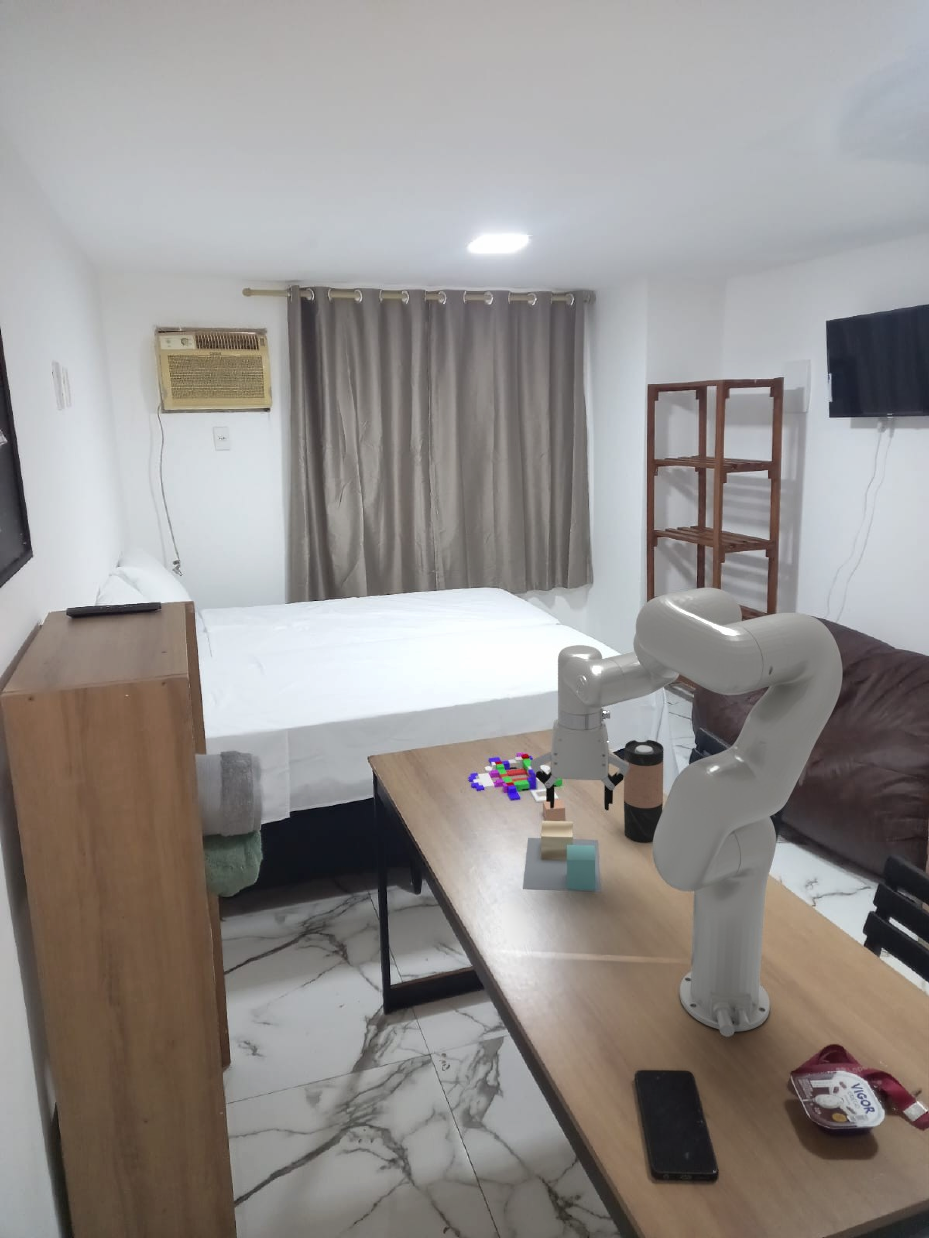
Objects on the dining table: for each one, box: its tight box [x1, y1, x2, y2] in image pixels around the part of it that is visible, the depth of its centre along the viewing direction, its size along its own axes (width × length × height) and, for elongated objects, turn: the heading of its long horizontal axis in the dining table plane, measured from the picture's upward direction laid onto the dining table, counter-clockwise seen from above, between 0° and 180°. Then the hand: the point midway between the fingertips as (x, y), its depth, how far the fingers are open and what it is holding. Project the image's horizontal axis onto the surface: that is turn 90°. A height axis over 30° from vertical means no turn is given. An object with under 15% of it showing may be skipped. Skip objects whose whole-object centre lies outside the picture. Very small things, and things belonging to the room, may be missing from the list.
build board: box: [522, 837, 602, 893], centre depth 154 cm, size 18×14×1 cm
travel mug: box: [623, 739, 665, 844], centre depth 161 cm, size 8×8×20 cm
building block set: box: [467, 752, 563, 804], centre depth 191 cm, size 25×20×4 cm
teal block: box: [567, 845, 595, 890], centre depth 147 cm, size 5×5×6 cm
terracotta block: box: [542, 798, 566, 821], centre depth 172 cm, size 4×4×4 cm
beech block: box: [540, 820, 574, 860], centre depth 158 cm, size 6×6×5 cm
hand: (579, 805), depth 145 cm, fingers open, 9 cm apart
